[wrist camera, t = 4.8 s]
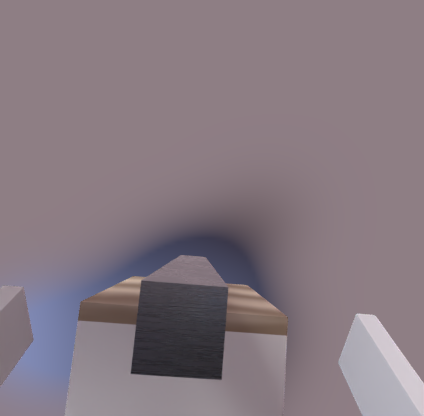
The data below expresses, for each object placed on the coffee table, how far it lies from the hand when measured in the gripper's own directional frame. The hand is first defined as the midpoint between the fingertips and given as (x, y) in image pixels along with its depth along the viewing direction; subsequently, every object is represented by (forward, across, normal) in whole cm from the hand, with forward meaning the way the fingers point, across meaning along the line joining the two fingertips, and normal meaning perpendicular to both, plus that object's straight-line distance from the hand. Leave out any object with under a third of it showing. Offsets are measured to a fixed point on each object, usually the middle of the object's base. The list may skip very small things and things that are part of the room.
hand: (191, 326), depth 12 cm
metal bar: (+9, 0, -6) cm, 11 cm away
